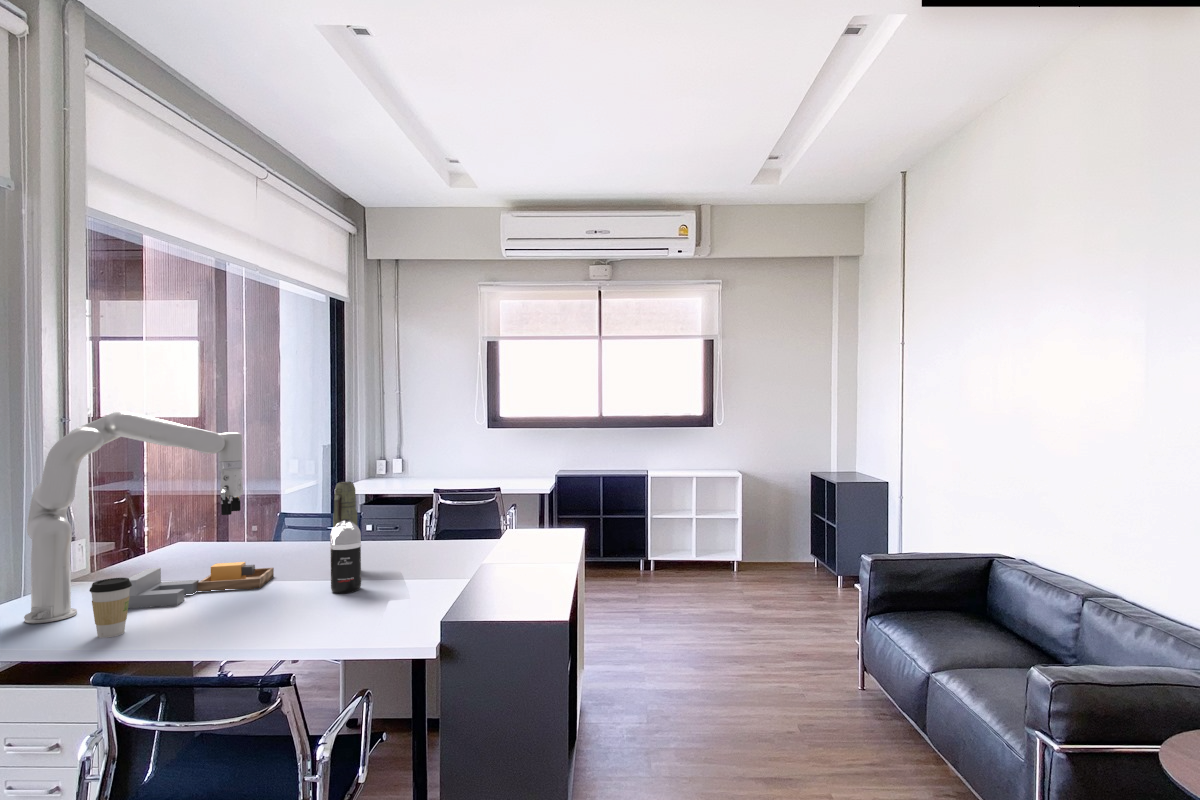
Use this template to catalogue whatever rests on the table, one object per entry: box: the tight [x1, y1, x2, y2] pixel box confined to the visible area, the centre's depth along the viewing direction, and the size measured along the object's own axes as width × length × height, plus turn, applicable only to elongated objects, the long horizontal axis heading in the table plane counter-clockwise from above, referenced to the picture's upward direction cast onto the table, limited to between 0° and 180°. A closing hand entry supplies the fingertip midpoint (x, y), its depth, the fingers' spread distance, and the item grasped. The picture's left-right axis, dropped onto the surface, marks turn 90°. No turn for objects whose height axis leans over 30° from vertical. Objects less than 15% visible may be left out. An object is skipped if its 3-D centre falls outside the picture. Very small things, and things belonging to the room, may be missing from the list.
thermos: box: [332, 481, 358, 528], centre depth 264 cm, size 9×12×35 cm
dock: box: [128, 567, 200, 609], centre depth 228 cm, size 18×16×9 cm
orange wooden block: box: [210, 561, 256, 581], centre depth 247 cm, size 6×14×6 cm, turn 101°
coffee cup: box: [89, 577, 132, 639], centre depth 192 cm, size 10×10×15 cm
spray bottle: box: [329, 519, 362, 594], centre depth 236 cm, size 10×10×25 cm
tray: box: [198, 567, 275, 591], centre depth 247 cm, size 18×20×4 cm
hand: (231, 512), depth 247 cm, fingers open, 9 cm apart
